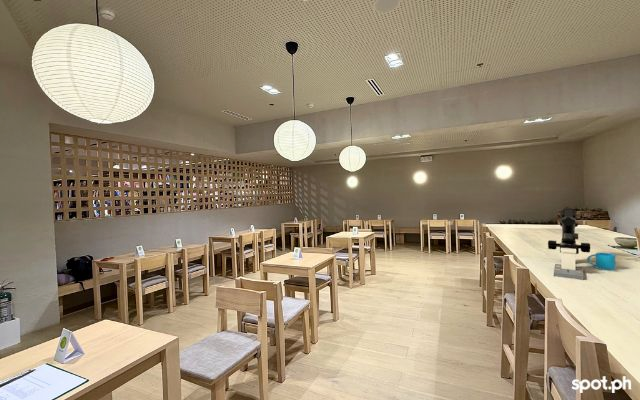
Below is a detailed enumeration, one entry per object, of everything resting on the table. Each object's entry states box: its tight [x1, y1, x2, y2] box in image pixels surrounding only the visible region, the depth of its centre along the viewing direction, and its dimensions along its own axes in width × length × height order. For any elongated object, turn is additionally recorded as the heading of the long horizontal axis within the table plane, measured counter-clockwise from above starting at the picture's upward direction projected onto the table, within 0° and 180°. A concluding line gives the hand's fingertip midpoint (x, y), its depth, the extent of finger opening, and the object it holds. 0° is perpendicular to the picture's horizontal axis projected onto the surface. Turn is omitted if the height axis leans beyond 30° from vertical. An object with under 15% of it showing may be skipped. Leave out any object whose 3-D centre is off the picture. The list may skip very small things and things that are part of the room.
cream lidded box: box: [560, 248, 576, 270], centre depth 164 cm, size 4×7×11 cm, turn 49°
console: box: [553, 263, 584, 281], centre depth 163 cm, size 22×12×2 cm, turn 139°
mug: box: [587, 252, 616, 271], centre depth 172 cm, size 12×8×8 cm
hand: (568, 258), depth 166 cm, fingers closed, pressing on cream lidded box
